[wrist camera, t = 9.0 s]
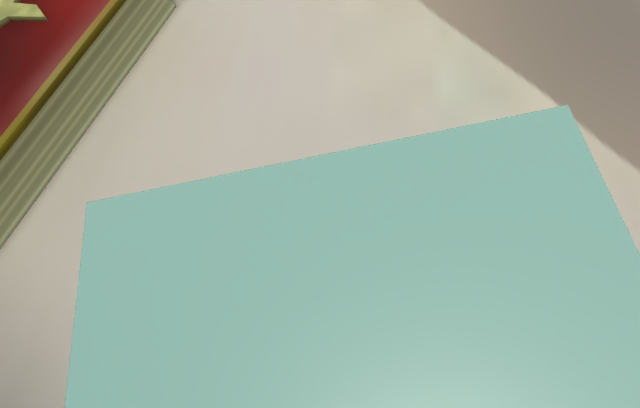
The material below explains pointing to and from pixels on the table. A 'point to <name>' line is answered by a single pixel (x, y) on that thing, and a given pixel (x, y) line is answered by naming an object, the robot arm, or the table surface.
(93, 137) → the table surface
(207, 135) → the table surface
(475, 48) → the table surface
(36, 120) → the hardcover book
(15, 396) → the table surface
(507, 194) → the mint green cube
